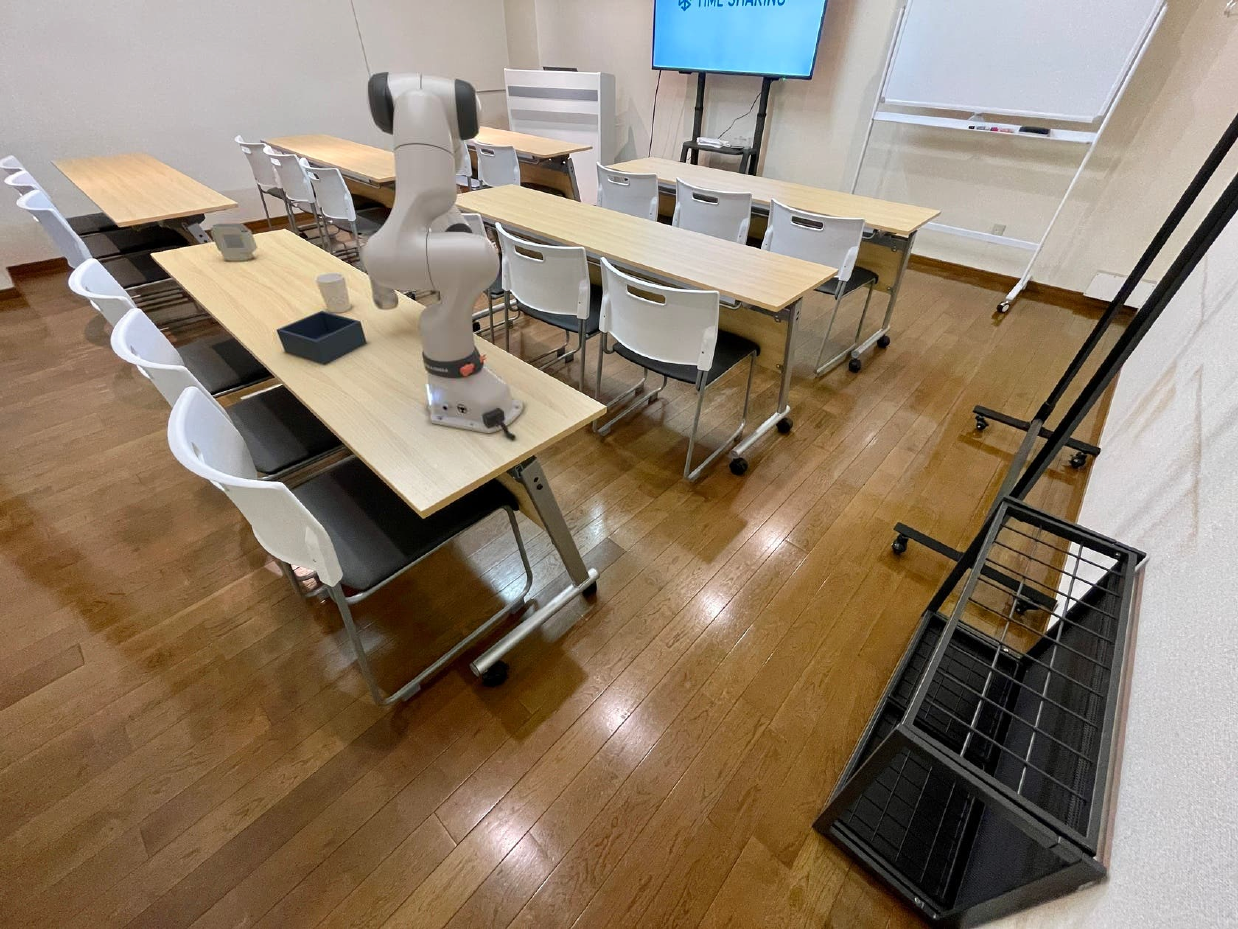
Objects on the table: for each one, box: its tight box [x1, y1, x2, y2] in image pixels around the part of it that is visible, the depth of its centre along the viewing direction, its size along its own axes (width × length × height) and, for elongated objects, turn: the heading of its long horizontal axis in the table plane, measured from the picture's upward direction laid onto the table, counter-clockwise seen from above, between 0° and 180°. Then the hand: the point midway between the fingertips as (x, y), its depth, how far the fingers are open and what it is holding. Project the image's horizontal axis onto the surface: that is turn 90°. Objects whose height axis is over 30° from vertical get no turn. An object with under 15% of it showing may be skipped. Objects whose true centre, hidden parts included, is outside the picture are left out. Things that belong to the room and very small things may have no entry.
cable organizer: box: [209, 222, 258, 262], centre depth 192 cm, size 7×12×12 cm, turn 102°
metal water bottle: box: [360, 231, 399, 311], centre depth 141 cm, size 6×7×20 cm
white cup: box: [315, 272, 352, 314], centre depth 161 cm, size 8×8×10 cm
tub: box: [275, 310, 368, 366], centre depth 141 cm, size 15×15×7 cm
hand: (374, 269), depth 140 cm, fingers closed on metal water bottle, 6 cm apart
